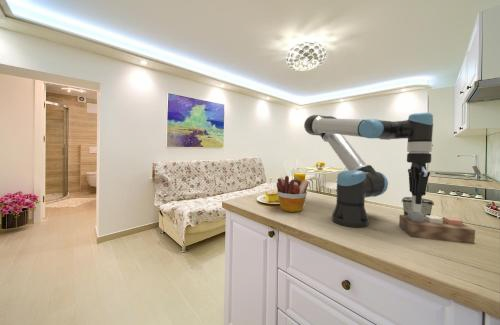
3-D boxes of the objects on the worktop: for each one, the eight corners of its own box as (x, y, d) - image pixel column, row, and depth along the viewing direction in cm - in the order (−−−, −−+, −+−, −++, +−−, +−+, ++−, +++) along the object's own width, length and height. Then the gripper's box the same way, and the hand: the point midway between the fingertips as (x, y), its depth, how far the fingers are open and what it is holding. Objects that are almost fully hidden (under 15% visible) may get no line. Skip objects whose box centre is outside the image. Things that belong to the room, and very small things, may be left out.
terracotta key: (448, 231, 79) (449, 219, 79) (442, 227, 83) (443, 216, 83) (461, 232, 78) (462, 221, 78) (455, 228, 82) (455, 217, 82)
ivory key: (429, 229, 81) (430, 218, 81) (424, 226, 85) (425, 215, 85) (442, 230, 80) (442, 219, 80) (436, 227, 84) (437, 216, 83)
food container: (428, 218, 101) (429, 198, 101) (433, 222, 96) (434, 201, 95) (397, 215, 106) (398, 195, 106) (400, 218, 101) (401, 198, 100)
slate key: (411, 224, 83) (412, 213, 83) (407, 221, 87) (407, 210, 86) (423, 225, 82) (424, 214, 81) (418, 222, 85) (419, 211, 85)
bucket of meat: (283, 203, 128) (284, 171, 127) (310, 207, 120) (311, 173, 118) (270, 212, 111) (270, 175, 110) (300, 217, 102) (301, 177, 101)
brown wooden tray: (410, 236, 80) (411, 223, 79) (399, 225, 91) (399, 214, 91) (474, 243, 74) (475, 229, 74) (453, 231, 85) (453, 219, 85)
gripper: (439, 153, 75) (436, 217, 76) (422, 152, 87) (419, 207, 89) (415, 152, 77) (412, 215, 79) (401, 152, 90) (399, 206, 91)
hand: (416, 211), depth 84 cm, fingers closed
